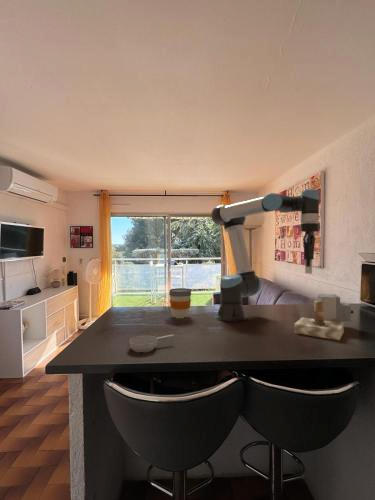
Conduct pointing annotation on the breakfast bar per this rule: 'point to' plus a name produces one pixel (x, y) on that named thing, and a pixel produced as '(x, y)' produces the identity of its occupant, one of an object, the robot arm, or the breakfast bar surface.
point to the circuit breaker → (335, 308)
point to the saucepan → (145, 343)
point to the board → (319, 328)
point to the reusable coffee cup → (180, 302)
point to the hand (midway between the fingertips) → (308, 273)
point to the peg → (319, 312)
